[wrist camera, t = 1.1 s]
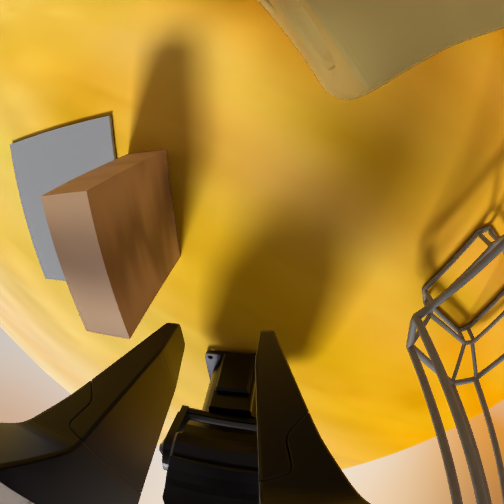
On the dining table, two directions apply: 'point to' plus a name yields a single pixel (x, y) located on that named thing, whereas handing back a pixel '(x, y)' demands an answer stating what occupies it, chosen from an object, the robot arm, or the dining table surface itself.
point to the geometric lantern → (450, 384)
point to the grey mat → (57, 174)
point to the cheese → (377, 36)
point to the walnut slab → (115, 239)
